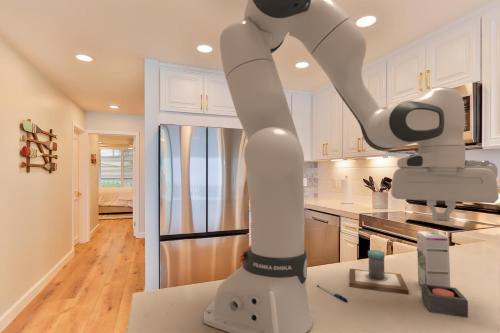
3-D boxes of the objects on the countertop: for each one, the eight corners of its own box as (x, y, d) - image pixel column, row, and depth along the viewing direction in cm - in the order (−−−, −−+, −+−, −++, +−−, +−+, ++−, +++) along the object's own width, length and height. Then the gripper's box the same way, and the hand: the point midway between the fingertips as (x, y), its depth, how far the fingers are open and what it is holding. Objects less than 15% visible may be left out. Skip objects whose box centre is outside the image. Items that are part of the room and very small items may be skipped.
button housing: (429, 311, 61) (429, 295, 61) (421, 298, 67) (421, 283, 67) (468, 317, 58) (467, 300, 58) (456, 302, 65) (455, 287, 65)
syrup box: (451, 294, 70) (450, 235, 70) (425, 292, 71) (424, 234, 71) (440, 285, 75) (439, 231, 76) (416, 283, 77) (416, 230, 77)
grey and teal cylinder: (368, 279, 76) (368, 253, 76) (367, 273, 80) (367, 249, 80) (385, 281, 75) (385, 254, 75) (383, 275, 79) (383, 250, 79)
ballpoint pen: (349, 302, 65) (349, 298, 65) (346, 303, 65) (346, 299, 65) (318, 287, 75) (318, 283, 75) (315, 287, 74) (315, 284, 74)
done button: (435, 304, 62) (435, 294, 62) (430, 296, 65) (430, 287, 65) (456, 307, 60) (456, 297, 60) (450, 299, 64) (450, 289, 64)
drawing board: (349, 286, 74) (349, 281, 74) (349, 271, 86) (349, 267, 86) (408, 294, 70) (408, 289, 70) (400, 277, 81) (400, 273, 81)
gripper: (490, 161, 63) (490, 222, 63) (390, 160, 70) (389, 215, 70) (504, 159, 57) (505, 227, 57) (393, 159, 64) (393, 219, 64)
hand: (440, 220), depth 63 cm, fingers closed
